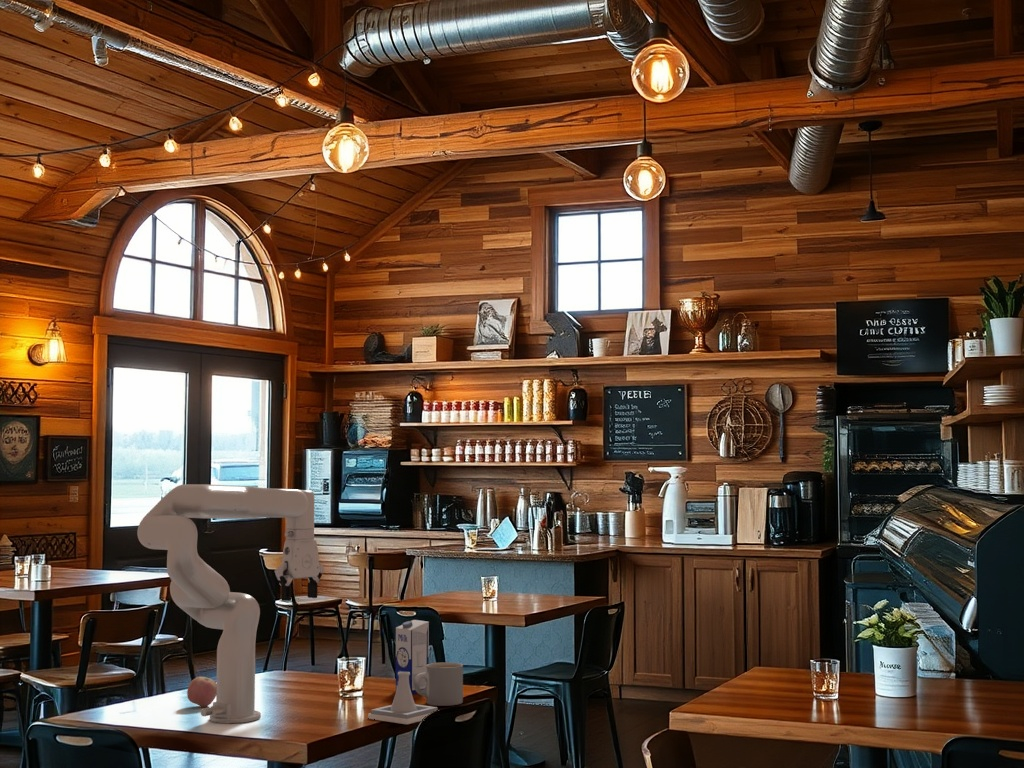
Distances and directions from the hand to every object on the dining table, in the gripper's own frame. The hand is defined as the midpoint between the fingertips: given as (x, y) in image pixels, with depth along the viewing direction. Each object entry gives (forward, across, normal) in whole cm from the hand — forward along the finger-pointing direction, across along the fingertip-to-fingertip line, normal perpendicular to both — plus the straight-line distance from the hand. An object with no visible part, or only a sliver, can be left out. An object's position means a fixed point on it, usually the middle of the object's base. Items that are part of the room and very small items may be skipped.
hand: (299, 599), depth 324 cm
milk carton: (+28, +34, -11) cm, 46 cm away
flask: (+27, +4, -34) cm, 44 cm away
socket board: (+28, +4, -34) cm, 44 cm away
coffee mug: (+28, +25, -28) cm, 47 cm away
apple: (+28, -16, +20) cm, 38 cm away
